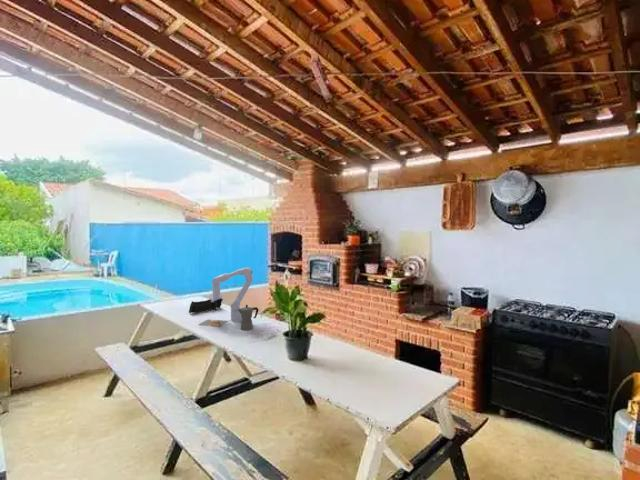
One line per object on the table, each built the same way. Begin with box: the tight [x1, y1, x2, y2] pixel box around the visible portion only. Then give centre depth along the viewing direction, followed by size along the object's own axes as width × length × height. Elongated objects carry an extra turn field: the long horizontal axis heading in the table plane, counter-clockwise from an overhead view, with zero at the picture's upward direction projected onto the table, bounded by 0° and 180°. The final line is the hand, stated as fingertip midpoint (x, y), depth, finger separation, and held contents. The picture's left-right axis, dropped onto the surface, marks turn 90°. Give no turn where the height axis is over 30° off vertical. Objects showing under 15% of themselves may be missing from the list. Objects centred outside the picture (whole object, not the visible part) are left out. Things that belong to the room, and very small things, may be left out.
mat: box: [198, 319, 229, 328], centre depth 282 cm, size 18×16×1 cm
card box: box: [210, 319, 221, 326], centre depth 278 cm, size 4×7×3 cm, turn 81°
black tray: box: [188, 298, 218, 314], centre depth 319 cm, size 17×3×30 cm
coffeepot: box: [238, 304, 259, 331], centre depth 270 cm, size 15×9×18 cm, turn 111°
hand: (216, 309), depth 289 cm, fingers open, 7 cm apart
